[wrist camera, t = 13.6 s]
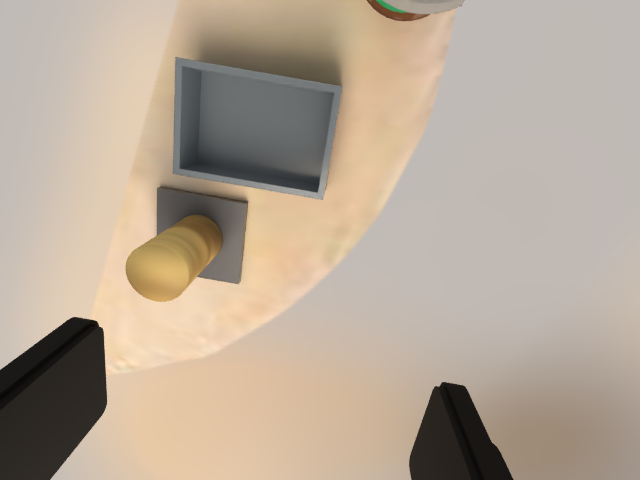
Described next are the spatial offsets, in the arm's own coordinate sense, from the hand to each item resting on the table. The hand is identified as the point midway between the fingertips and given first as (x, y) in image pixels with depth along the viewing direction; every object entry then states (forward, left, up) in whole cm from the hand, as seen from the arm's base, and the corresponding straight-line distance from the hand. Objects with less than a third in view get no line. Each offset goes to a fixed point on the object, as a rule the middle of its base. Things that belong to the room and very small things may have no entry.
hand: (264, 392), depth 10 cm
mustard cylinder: (+8, -13, -30) cm, 33 cm away
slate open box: (-5, -7, -30) cm, 31 cm away
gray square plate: (+8, -13, -30) cm, 34 cm away
